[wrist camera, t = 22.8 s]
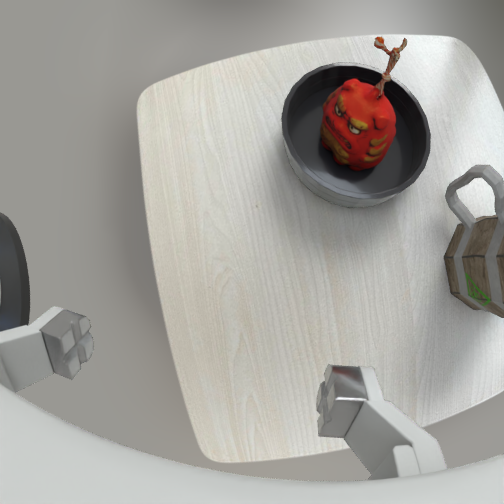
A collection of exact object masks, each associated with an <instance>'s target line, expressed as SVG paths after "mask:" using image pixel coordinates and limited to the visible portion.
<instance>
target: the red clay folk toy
mask: <svg viewBox="0 0 504 504" xmlns="http://www.w3.org/2000/svg"><path fill="white" fill-rule="evenodd" d="M375 40H376V41H375V42H374V46H375V47H377V48H379V49H382V50H384V51H385V52H386V53H387V54H388V55H389V56H390V59H389V62H388V66H387V69H386V71H385V73H382V78H383V79H382V80H381V81H380V82H379V83H378V84H377V85H376V86H375V87H374V86H372V85H370V84H367V83H362V82H360V81H359V80H357V79H351V80H348V81H346V82H345V83H344V84H343V86H341V87H339V88H337V89H336V90H335V91H334V92H333V93H331V94H330V95H329V96H328V98H327V100H326V102H325V103H324V104H323V106H322V109H323V118H322V124H321V127H320V134H321V138H322V145H323V146H324V148H326V149H327V150H330V151H332V152H333V157H334V160H335V161H336V162H337V163H338V164H339V165H346V166H348V167H349V168H350V169H351V170H353V171H360V170H363V169H368V168H372V167H374V166H376V165H378V164H379V163H380V162H381V161H382V160H383V158H384V157H385V155H386V153H387V151H388V149H389V147H390V145H391V143H392V142H393V138H394V137H395V134H396V128H395V123H396V116H395V112H394V110H393V107H392V105H391V104H390V102H389V100H388V99H387V98H386V97H385V95H384V91H383V87H384V83H385V82H388V81H390V80H391V76H390V74H389V73H390V72H391V70H392V69H393V68H394V66H395V64H396V63H397V61H398V59H399V58H400V54H399V53H400V51H402V50H403V49H404V48H405V47H406V45H407V39H405V38H404V40H403V43H402V45H401V47H399V48H393V50H392V51H389V50H388V49H387V48H386V46H385V45H384V39H383V38H382V37H376V38H375Z"/></svg>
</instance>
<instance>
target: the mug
mask: <svg viewBox="0 0 504 504" xmlns="http://www.w3.org/2000/svg"><path fill="white" fill-rule="evenodd" d="M481 177H482V178H483V179H484V180H485V181H486V182H487V183H488V184H489V185H490V186H491V187H492V189H493V192H494V195H495V212H496V215H493V216H482V217H479V218H476V219H475V218H474V217H473V215H472V214H471V213H470V211H469V210H468V209H467V208H466V206H465V205H464V204H463V203H462V202H461V201H460V199H459V198H458V195H457V193H456V190H457V189H459V188H461V187H463V186H465V185H467V184H469V183H470V182H471V181H472V180H473V179H474V178H481ZM445 198H446V201H447V203H448V205H449V208H450V209H451V210H452V211H453V213H454V214H455V215H456V216H457V217H458V218H459V220H460V221H461V222H462V223H461V224H458V225H457V228H456V230H455V232H454V235H453V237H452V240H451V242H450V244H449V247H448V249H447V251H446V253H445V255H444V260H445V265H446V270H447V275H448V280H449V286H450V291H451V294H453V295H454V296H455V297H457V298H458V299H460V300H461V301H463V302H464V303H465V304H467V305H468V306H470V307H471V308H472V309H474V310H484V311H488V312H491V313H493V314H495V315H497V316H499V317H501V318H504V181H503V178H502V176H501V175H500V174H499V173H498V172H497V171H496V170H495V169H494V168H493V167H491V166H490V165H475V166H473V167H472V168H471V169H469V170H468V171H467V172H466V173H465V174H464V175H462V176H461V177H459V178H457V179H455V180H454V181H453V182H452V183H450V184H449V186H448V187H447V190H446V194H445Z"/></svg>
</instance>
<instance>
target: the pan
mask: <svg viewBox="0 0 504 504" xmlns="http://www.w3.org/2000/svg"><path fill="white" fill-rule="evenodd" d="M382 73H385V72H384V71H381V70H379V69H377V68H375V67H372V66H368V65H364V64H359V63H333V64H329V65H325V66H321V67H318V68H316V69H315V70H313V71H311V72H309V73H307V74H305V75H304V76H303V77H302V78H301V79H300V80H299V81H298V82H297V83H296V84H295V85H294V86H293V87H292V89H291V91H290V92H289V94H288V96H287V98H286V99H285V102H284V107H283V112H282V118H281V119H282V129H283V138H284V144H285V150H286V153H287V156H288V159H289V162H290V164H291V167H292V169H293V170H294V172H295V174H296V175H297V177H298V178H299V179H300V180H301V182H302V183H303V184H304V185H305V186H306V187H307V188H308V189H309V190H311V191H312V192H313V193H315V194H316V195H317V196H319V197H321V198H323V199H324V200H326V201H329V202H331V203H333V204H337V205H340V206H345V207H351V208H363V207H371V206H375V205H378V204H381V203H383V202H385V201H388V200H389V199H391V198H392V197H394V196H395V195H397V194H398V193H400V192H401V191H403V190H404V189H405V188H407V187H408V186H410V185H411V184H412V183H414V182H415V181H416V179H417V178H418V177H419V175H420V174H421V172H422V171H423V170H424V168H425V166H426V163H427V160H428V157H429V154H430V138H431V134H430V129H429V125H428V121H427V117H426V115H425V113H424V111H423V109H422V107H421V106H420V104H419V102H418V100H417V99H416V98H415V97H414V95H413V94H412V93H411V92H410V91H409V90H408V88H407V87H406V86H405V85H403V84H402V83H401V82H399V81H398V80H397V79H395V78H394V77H393V76H391V75H390V76H391V80H390V81H388V82H385V83H384V87H383V91H384V95H385V97H386V98H387V99H388V100H389V102H390V104H391V105H392V107H393V110H394V112H395V116H396V123H395V128H396V134H395V137H394V138H393V142H392V143H391V145H390V147H389V149H388V151H387V153H386V155H385V157H384V158H383V160H382V161H381V162H380V163H379V164H378V165H376V166H374V167H372V168H368V169H363V170H360V171H353V170H351V169H350V168H349V167H348V166H346V165H339V164H338V163H337V162H336V161H335V160H334V157H333V152H332V151H330V150H327V149H326V148H324V146H323V145H322V138H321V134H320V127H321V124H322V118H323V109H322V106H323V104H324V103H325V102H326V100H327V98H328V96H329V95H330V94H331V93H333V92H334V91H335V90H336V89H337V88H339V87H341V86H343V84H344V83H345V82H346V81H348V80H351V79H357V80H359V81H360V82H362V83H367V84H370V85H372V86H374V87H375V86H376V85H377V84H378V83H379V82H380V81H381V80H382V79H383V78H382Z"/></svg>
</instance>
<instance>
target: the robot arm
mask: <svg viewBox="0 0 504 504" xmlns="http://www.w3.org/2000/svg"><path fill="white" fill-rule="evenodd" d="M0 304H1V283H0ZM90 328H91V324H90V320H89V319H88V318H87V317H86V316H83V315H80V314H77V313H75V312H72V311H69V310H65V309H62V308H60V307H57V306H55V307H52V308H51V309H49V310H48V311H47V312H45V313H44V314H43V315H42V316H41V317H39V318H38V319H37V320H36V321H35V322H33V323H32V324H31V325H30V326H27V325H24V326H20V327H17V328H13V329H9V330H5V331H1V332H0V504H504V454H501V455H498V456H495V457H492V458H488V459H485V460H482V461H478V462H475V463H471V464H467V465H463V466H459V467H455V468H450V469H448V468H447V466H446V462H445V459H444V457H443V454H442V451H441V448H440V445H439V443H438V441H437V440H436V439H435V438H434V437H433V436H431V435H430V434H429V433H428V432H426V431H425V430H424V429H423V428H422V427H420V426H419V425H418V424H417V423H415V422H414V421H413V420H412V419H410V418H409V417H408V416H407V415H406V414H404V413H403V412H402V411H401V410H400V409H398V408H397V407H396V406H395V405H394V404H392V403H391V402H390V401H385V399H384V396H383V393H382V390H381V387H380V384H379V381H378V378H377V375H376V372H375V369H374V368H373V367H365V366H358V367H356V366H342V365H330V364H328V366H327V368H326V370H325V373H324V377H325V381H324V382H322V383H321V384H320V387H319V390H318V394H317V402H316V407H317V411H318V412H319V414H320V416H319V418H318V420H317V422H318V436H321V437H337V438H344V440H345V441H346V443H347V444H348V445H349V446H350V448H351V449H352V450H353V452H354V453H355V454H356V455H357V457H358V458H359V459H360V461H361V462H362V463H363V464H364V466H365V467H366V468H367V470H368V471H369V472H370V473H371V476H370V477H369V478H368V480H361V481H301V480H285V479H273V478H264V477H255V476H247V475H240V474H234V473H228V472H222V471H217V470H212V469H207V468H202V467H197V466H193V465H189V464H185V463H181V462H177V461H173V460H169V459H165V458H161V457H158V456H155V455H152V454H149V453H145V452H142V451H139V450H136V449H133V448H130V447H127V446H125V445H122V444H119V443H116V442H114V441H111V440H108V439H106V438H104V437H101V436H99V435H96V434H93V433H91V432H89V431H87V430H85V429H82V428H80V427H77V426H76V425H73V424H71V423H69V422H67V421H65V420H63V419H61V418H59V417H57V416H55V415H53V414H51V413H49V412H47V411H45V410H44V409H42V408H40V407H38V406H36V405H34V404H33V403H31V402H29V401H28V400H26V399H24V398H22V397H21V396H19V395H17V394H16V392H18V391H19V390H22V389H24V388H26V387H28V386H30V385H32V384H34V383H36V382H38V381H40V380H42V379H44V378H46V377H48V376H50V375H52V374H54V373H56V374H59V375H61V376H64V377H66V378H69V379H71V380H72V379H73V378H74V377H75V376H76V374H77V373H78V372H79V371H80V370H81V364H82V363H84V362H87V361H88V360H89V359H90V357H91V355H92V353H93V350H94V341H93V337H92V335H91V334H90V333H89V330H90Z"/></svg>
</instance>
